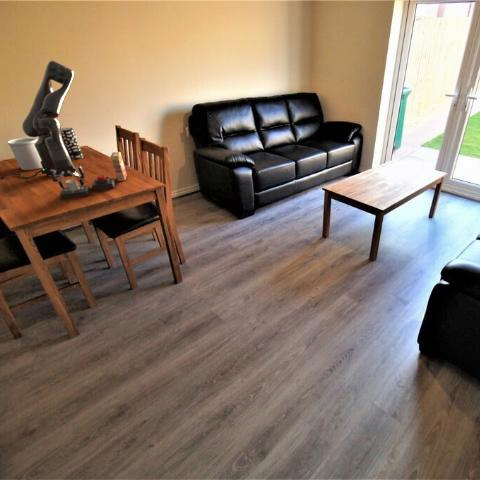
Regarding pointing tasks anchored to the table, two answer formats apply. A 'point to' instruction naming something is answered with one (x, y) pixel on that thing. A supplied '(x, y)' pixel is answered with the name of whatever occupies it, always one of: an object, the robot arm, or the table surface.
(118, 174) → the candy box
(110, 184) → the button housing
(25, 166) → the utensil holder
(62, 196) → the dial panel
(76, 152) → the spotted tube
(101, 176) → the power button
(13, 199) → the table surface
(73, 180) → the dial
